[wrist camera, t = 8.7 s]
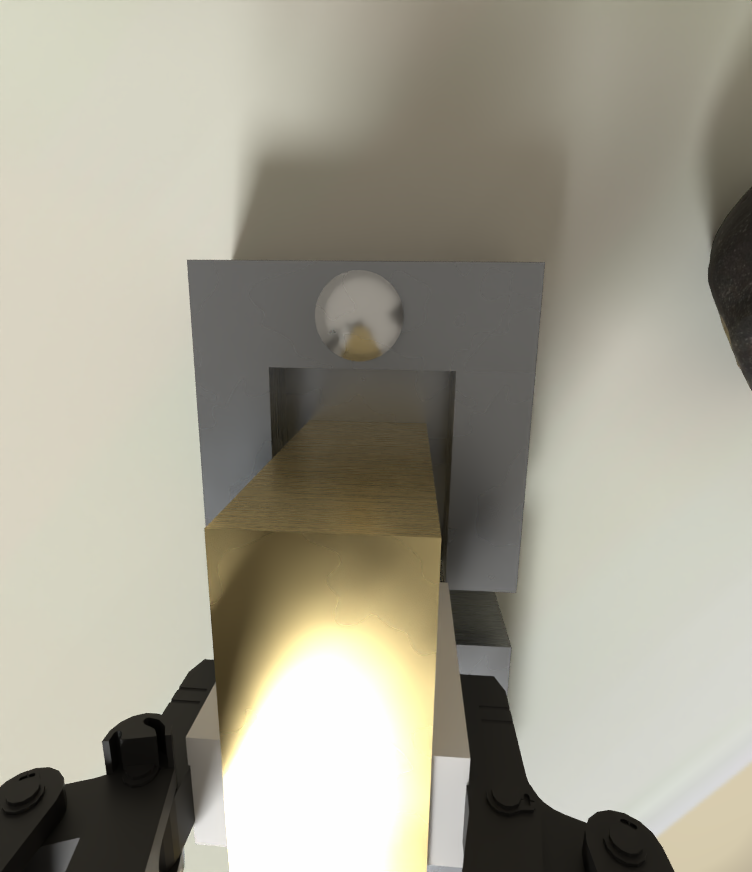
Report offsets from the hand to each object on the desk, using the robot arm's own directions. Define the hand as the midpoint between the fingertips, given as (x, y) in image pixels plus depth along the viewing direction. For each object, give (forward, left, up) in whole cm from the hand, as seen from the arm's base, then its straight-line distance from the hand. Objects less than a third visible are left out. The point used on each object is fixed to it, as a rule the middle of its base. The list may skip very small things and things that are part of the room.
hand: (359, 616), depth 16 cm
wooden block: (0, 0, -2) cm, 2 cm away
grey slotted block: (0, 0, -4) cm, 4 cm away
